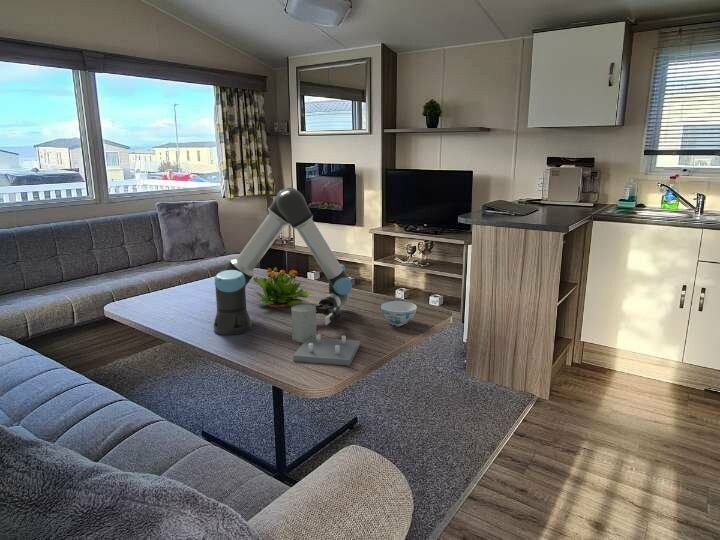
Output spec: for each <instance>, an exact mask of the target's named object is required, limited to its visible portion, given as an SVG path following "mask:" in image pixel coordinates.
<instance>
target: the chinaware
mask: <svg viewBox="0 0 720 540" xmlns="http://www.w3.org/2000/svg"><path fill="white" fill-rule="evenodd" d="M380 308H381V313H382V315H383V317H384V318H385V320H387V321H388V322H390V324H391V323H392V324H397V325H398V324H405V323H406V324H408V323H409V322H410V321H411V320H413V318H414V316H415V315H416V311H417V308H418V307H417V305H416V304H414V303H412V302H409V301H404V300H403V301H401V300H400V301H399V300H396V301H394V300H393V301H392V300H391V301H388V302H384V303H382V304H381V305H380Z"/></svg>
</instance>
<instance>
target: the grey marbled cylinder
mask: <svg viewBox="0 0 720 540" xmlns="http://www.w3.org/2000/svg"><path fill="white" fill-rule="evenodd" d="M309 304H310V303H309ZM309 304H307V303H306V304H303V303H302V304H301V303H300V304H298V305H295V306H293V307H290V308H291V309H290V310H291V335H292V337H291V340H292V341H294V342H297V343H304V342H305V341H306V340H307V338H308V337H313V338H316V334H317V314H316V312H317V311H316V307H315V306H314V304H313V305H309Z"/></svg>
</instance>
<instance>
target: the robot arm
mask: <svg viewBox="0 0 720 540" xmlns="http://www.w3.org/2000/svg"><path fill="white" fill-rule="evenodd" d="M308 206H309V205H308V203H307V201H306V199H305V197H304V195H303V194H302V193H301V192H300V191H299V190H297V189H296V188H294V187H285V188H282V189H280V190H279V191H278V192H277V194H276V196H275V198H274V200H273V201H272V203H271V204H270V206H269V207H268V208H267V209H268V210H267V211H268V214H267V216H266V217H265V219H263V221H262V223H261V224H260V225H259V227H258V228H257V230H256V231H255V233H253V235H252V237H251V238H250V239H249V241H248V242H247V243H246V245H245V246H244V248H243V249H242V251H241V252H239V255H238V256H237V257H236V258H235V259H230V260H229V262H228V264H227V265H226V266H225V267H223V269H222V270H221V271H220V272H218V273H217V274H216V275H215V277H214V286H215V287H214V288H215V302H216V315H215V318H214V321H213V322H214V323H213V332H214V333H216V334H219V335H224V336H231V335H232V336H233V335H241V334H243V333H246V332H249V331H250V330H252V328H253V327H252V320H251V318H250V314H249V313H248V310H247V295H246V294H247V293H246V287H247V285H248V284H249V283H250V281H251V280H252V279H253V278H254V276H255V275H254V274H255V273H254V270H255V268H256V267H257V266H258V264H259V263H260V262H261V260H262V258H264V256H265V254H266V253H267V252H268V250H269V249H270V248H271V247H272V245H273V244H274V242H275V241H276V240H277V238H278V237H279V235H280V234H281V233H282V231H284V228H285V227H286V226H291V228H292V229H294V230H296V231H297V232H298V234H299V236H300V237H301V238H302V240H303V242H304V244H305V245H306V247H307V248H308V250H309V252H310V253H311V254H312V256H313V258H314V259H315V260H316V263H317V265H319V267H320V268H321V270H322V272H323V273H324V275H325V277H326V278H327V280H328V295H326V296H325V297H323V298H322V299H321V300H319V302H318V304H315V305H314V304H313V303H309V305H314V306H315V307H316V315H317V314H320V315H321V314H323V315H324V316H325V318H324V325H325V326H328V324H330V323H331V322H332V321H335V320H341V319H342V318H341V317H342V316H341V315H342V314H341V313H342V312H341V307H342V306H344V305H345V304H346V303H347V301H348V299H349V294H350V293H351V291H352V289H353V284H352V280H350V278H349V277H348V276H347V275H348V274H347V273H346V266H345V264H342V263H340V262H339V261H338V259H337V258H336V256H335V254H334V252H333V251H332V249H331V248H330V246H329V245H328V242H327V241H326V240H325V238H324V236H323V234H322V233H321V231H320V230H319V228H318V226H317V225H316V223H315V222H314V220H313V217H314V214H313V213H312V212H311V210H310V208H309V207H308Z"/></svg>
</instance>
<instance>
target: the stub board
mask: <svg viewBox="0 0 720 540" xmlns="http://www.w3.org/2000/svg"><path fill="white" fill-rule="evenodd" d="M359 346H360V347H361V341H360V340H353V339H347V336H346V335H341V339H340V338H339V339H336V338H323V337H322V336H321V333H316V338H313V337H308V338H307V340H306V341H305V342H302V343H301V345H300V347H299V348H297V351H295V353H294V354H293V355H292V358H293V359H292V361H294V362H301V363H302V362H303V363H305V362H306V363H314V364H326V365H338V366H339V365H340V366H350V365H351V363H352V361H353V360H354V357H356V354H357V352H358V351H357V350H359V349H358V348H360V347H359Z"/></svg>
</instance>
